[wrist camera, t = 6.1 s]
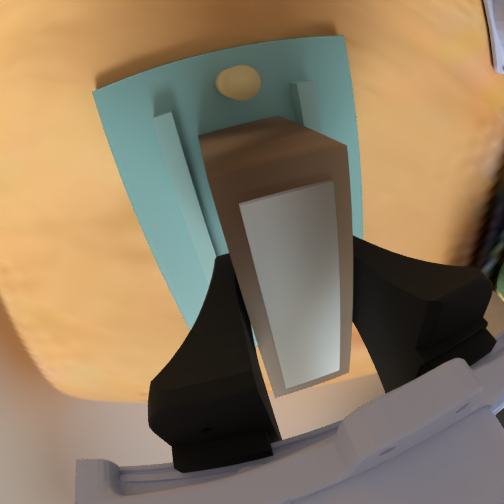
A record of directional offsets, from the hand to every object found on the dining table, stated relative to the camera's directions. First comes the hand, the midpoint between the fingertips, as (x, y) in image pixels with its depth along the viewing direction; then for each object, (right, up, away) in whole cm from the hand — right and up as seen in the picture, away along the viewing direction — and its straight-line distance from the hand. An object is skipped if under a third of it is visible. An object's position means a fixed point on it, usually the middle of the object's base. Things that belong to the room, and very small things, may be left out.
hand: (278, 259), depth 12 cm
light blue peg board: (-1, +2, +3) cm, 3 cm away
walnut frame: (-1, +2, +2) cm, 3 cm away
